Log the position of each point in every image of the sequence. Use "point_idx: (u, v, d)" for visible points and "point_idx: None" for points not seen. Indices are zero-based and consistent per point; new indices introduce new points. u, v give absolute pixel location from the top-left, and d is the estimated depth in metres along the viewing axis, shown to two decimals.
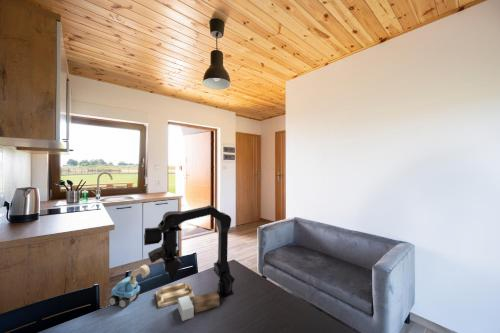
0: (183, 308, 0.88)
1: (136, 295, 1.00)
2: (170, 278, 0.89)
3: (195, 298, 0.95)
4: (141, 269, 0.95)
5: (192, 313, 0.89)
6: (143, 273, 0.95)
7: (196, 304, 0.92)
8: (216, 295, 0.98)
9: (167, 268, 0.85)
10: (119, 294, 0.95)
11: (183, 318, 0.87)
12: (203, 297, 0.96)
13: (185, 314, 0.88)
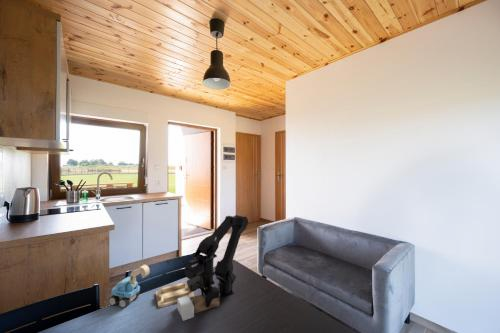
0: (184, 308, 0.88)
1: (136, 295, 1.00)
2: (207, 304, 0.94)
3: (195, 298, 0.95)
4: (141, 269, 0.96)
5: (193, 313, 0.89)
6: (143, 273, 0.95)
7: (196, 304, 0.92)
8: None
9: (208, 298, 0.87)
10: (119, 294, 0.95)
11: (184, 318, 0.87)
12: (203, 297, 0.96)
13: (186, 313, 0.88)
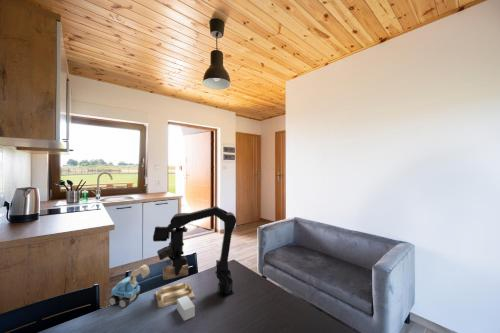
0: (184, 308, 0.88)
1: (136, 295, 1.00)
2: (176, 272, 1.00)
3: (165, 267, 1.02)
4: (141, 269, 0.95)
5: (193, 312, 0.90)
6: (143, 273, 0.95)
7: (165, 271, 0.99)
8: (185, 265, 1.04)
9: (175, 265, 0.94)
10: (119, 294, 0.95)
11: (185, 318, 0.87)
12: None
13: (187, 313, 0.88)
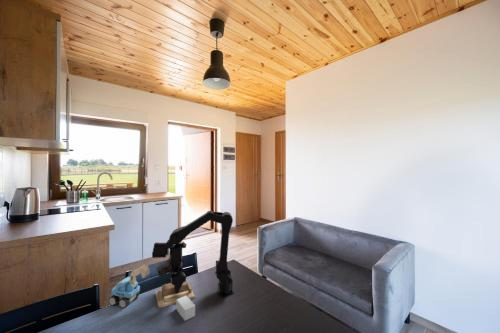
0: (185, 308, 0.88)
1: (136, 295, 1.00)
2: (176, 290, 0.99)
3: (164, 286, 1.02)
4: (141, 269, 0.96)
5: (194, 312, 0.90)
6: (143, 273, 0.95)
7: (164, 291, 0.99)
8: (185, 283, 1.05)
9: (174, 282, 0.94)
10: (119, 294, 0.95)
11: (185, 318, 0.88)
12: (172, 285, 1.03)
13: (187, 313, 0.88)
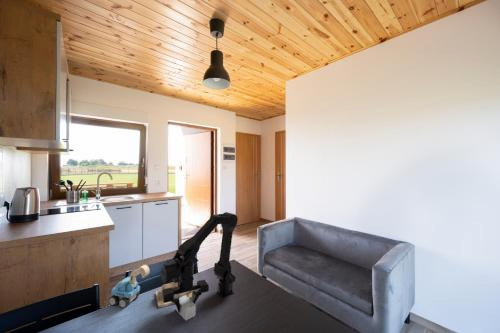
0: (185, 307, 0.88)
1: (136, 295, 1.00)
2: (177, 307, 0.91)
3: (164, 286, 1.02)
4: (141, 269, 0.96)
5: (194, 311, 0.90)
6: (143, 273, 0.95)
7: None
8: None
9: (162, 294, 0.89)
10: (119, 294, 0.95)
11: (186, 317, 0.88)
12: (172, 285, 1.03)
13: (188, 312, 0.88)
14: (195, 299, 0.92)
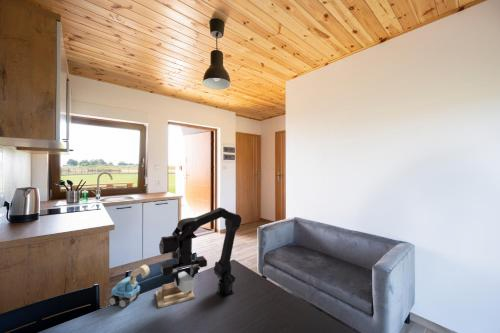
0: (184, 281, 0.90)
1: (136, 295, 1.00)
2: None
3: (164, 286, 1.02)
4: (141, 269, 0.96)
5: (193, 285, 0.92)
6: (142, 273, 0.95)
7: (164, 291, 0.99)
8: None
9: (161, 268, 0.91)
10: (119, 294, 0.95)
11: (185, 290, 0.89)
12: (172, 285, 1.03)
13: (187, 286, 0.90)
14: (193, 273, 0.94)
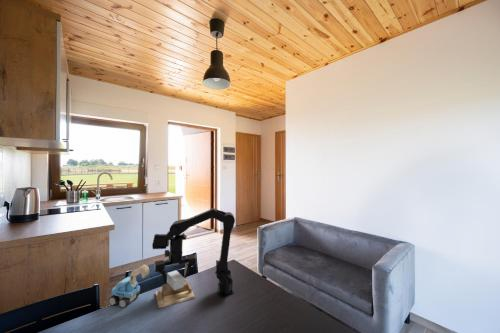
0: (174, 279, 1.00)
1: (136, 295, 1.00)
2: None
3: (164, 286, 1.02)
4: (141, 269, 0.96)
5: (182, 283, 1.01)
6: (143, 273, 0.95)
7: (164, 291, 0.99)
8: (185, 283, 1.05)
9: (154, 265, 1.01)
10: (119, 294, 0.95)
11: (175, 287, 0.99)
12: None
13: (177, 283, 0.99)
14: (187, 270, 1.04)
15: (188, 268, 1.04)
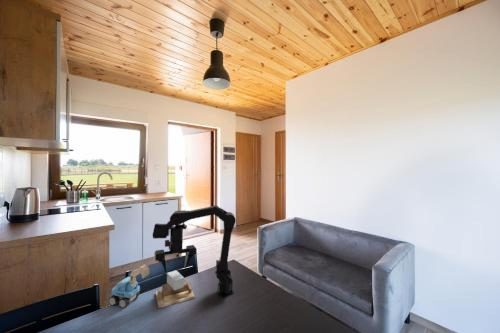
0: (174, 279, 1.00)
1: (136, 295, 1.00)
2: None
3: (164, 286, 1.02)
4: (141, 269, 0.96)
5: (182, 283, 1.01)
6: (143, 273, 0.95)
7: (164, 291, 0.99)
8: (185, 283, 1.05)
9: (154, 254, 1.01)
10: (119, 294, 0.95)
11: (175, 287, 0.99)
12: None
13: (177, 283, 0.99)
14: (188, 259, 1.04)
15: (188, 258, 1.04)
